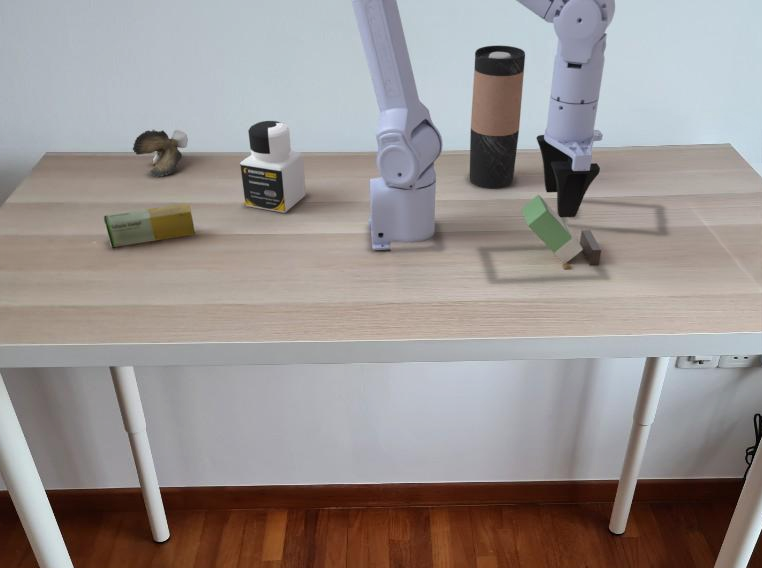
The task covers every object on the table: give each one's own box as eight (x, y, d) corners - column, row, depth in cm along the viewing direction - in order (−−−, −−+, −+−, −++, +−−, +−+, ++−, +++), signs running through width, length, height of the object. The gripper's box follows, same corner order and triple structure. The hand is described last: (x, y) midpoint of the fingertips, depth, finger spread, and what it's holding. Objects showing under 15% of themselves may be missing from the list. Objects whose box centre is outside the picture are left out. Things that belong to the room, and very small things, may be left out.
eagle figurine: (142, 149, 141) (123, 159, 133) (160, 114, 138) (141, 121, 130) (181, 174, 143) (164, 185, 135) (199, 140, 140) (183, 149, 132)
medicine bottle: (244, 206, 125) (234, 129, 118) (267, 189, 130) (259, 114, 123) (285, 213, 123) (277, 136, 115) (306, 196, 128) (300, 120, 121)
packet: (527, 225, 104) (546, 209, 103) (520, 209, 108) (538, 193, 107) (564, 264, 108) (583, 249, 106) (556, 246, 112) (574, 232, 110)
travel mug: (522, 177, 134) (534, 49, 121) (501, 193, 129) (512, 61, 116) (481, 167, 137) (489, 42, 125) (459, 182, 132) (465, 54, 120)
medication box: (110, 249, 114) (103, 224, 111) (109, 239, 116) (102, 214, 113) (196, 235, 117) (191, 210, 114) (193, 225, 119) (188, 201, 116)
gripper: (624, 116, 91) (605, 227, 99) (592, 78, 102) (577, 180, 111) (562, 117, 91) (548, 228, 99) (537, 79, 102) (526, 181, 110)
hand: (560, 203), depth 105 cm, fingers open, 7 cm apart
